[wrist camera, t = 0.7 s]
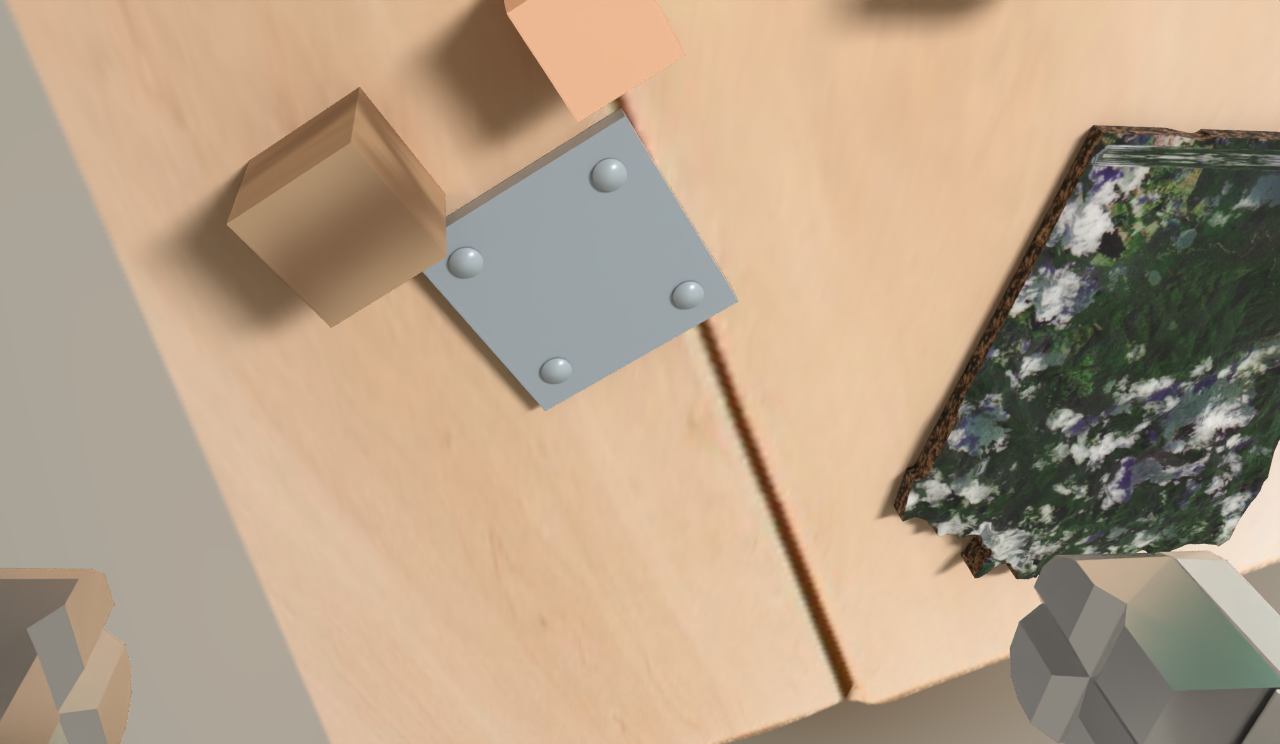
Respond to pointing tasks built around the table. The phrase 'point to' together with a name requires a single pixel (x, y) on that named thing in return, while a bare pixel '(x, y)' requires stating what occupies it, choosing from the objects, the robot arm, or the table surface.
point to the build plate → (579, 264)
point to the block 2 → (595, 46)
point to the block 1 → (341, 210)
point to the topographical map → (1121, 362)
